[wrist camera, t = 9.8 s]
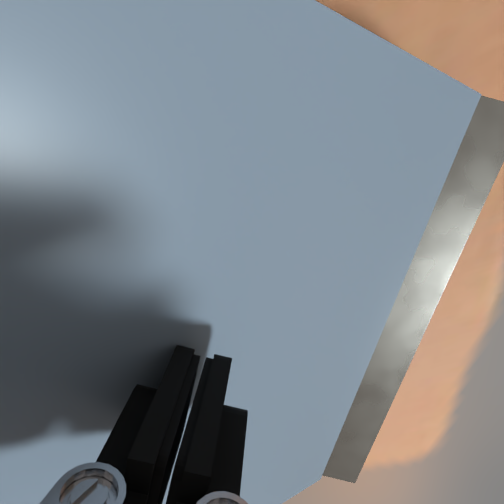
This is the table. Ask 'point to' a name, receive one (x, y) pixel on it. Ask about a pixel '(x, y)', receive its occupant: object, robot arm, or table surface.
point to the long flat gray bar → (422, 285)
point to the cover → (204, 218)
